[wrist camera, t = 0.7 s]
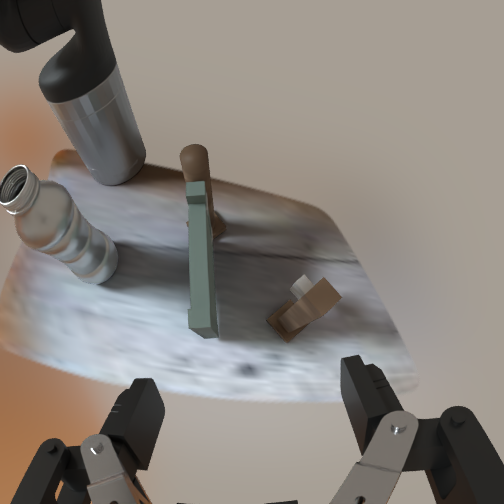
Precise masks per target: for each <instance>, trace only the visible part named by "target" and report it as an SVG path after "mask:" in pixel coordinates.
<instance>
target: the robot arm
mask: <svg viewBox="0 0 504 504" xmlns="http://www.w3.org/2000/svg"><path fill="white" fill-rule="evenodd" d="M71 29H74V30H75V32H76V33H75V35H74V36H73V37H72V39H71V40H70V41H69V42H68V43H67V44H66V45H65V46H64V47H63V48H62V49H61V50H60V51H58V52H57V53H56V54H55V55H54V56H53V57H52V58H51V59H50V60H49V61H48V62H47V63H46V65H45V66H44V68H43V69H42V71H41V73H40V76H39V86H40V89H41V91H42V93H43V95H44V96H45V98H46V100H47V102H48V104H49V105H50V107H51V109H52V111H53V112H54V114H55V116H56V117H57V119H58V121H59V123H60V124H61V126H62V128H63V129H64V131H65V133H66V134H67V136H68V138H69V139H70V141H71V143H72V144H73V146H74V148H75V149H76V151H77V152H78V154H79V156H80V157H81V159H82V160H83V162H84V164H85V165H86V167H87V168H88V170H89V171H90V173H91V174H92V176H93V177H94V179H95V180H96V181H97V182H99V183H101V184H103V185H117V184H120V183H123V182H125V181H127V180H129V179H131V178H132V177H133V176H134V175H136V174H137V172H138V171H139V170H140V169H141V167H142V166H143V164H144V161H145V158H146V150H145V147H144V144H143V141H142V138H141V135H140V132H139V129H138V127H137V124H136V121H135V118H134V115H133V112H132V109H131V106H130V103H129V99H128V96H127V93H126V90H125V87H124V84H123V81H122V78H121V75H120V71H119V68H118V65H117V62H116V58H115V55H114V52H113V48H112V46H111V42H110V39H109V35H108V31H107V28H106V24H105V19H104V15H103V9H102V4H101V0H0V45H2V46H3V47H4V48H6V49H7V50H9V51H11V52H14V53H20V52H24V51H27V50H29V49H32V48H34V47H36V46H38V45H40V44H41V43H44V42H46V41H48V40H50V39H52V38H54V37H56V36H58V35H60V34H62V33H65V32H67V31H69V30H71ZM341 394H342V398H343V401H344V404H345V407H346V410H347V413H348V416H349V419H350V422H351V425H352V428H353V431H354V433H355V437H356V439H357V443H358V446H359V449H360V452H361V455H362V456H363V457H362V458H361V460H360V461H359V462H356V463H355V465H354V466H353V468H352V470H351V471H350V472H349V474H348V476H347V478H346V479H345V481H344V482H343V484H342V485H341V487H340V489H339V490H338V492H337V493H336V495H335V496H334V498H333V499H332V501H331V502H330V503H329V504H387V502H388V500H389V498H390V496H391V494H392V492H393V490H394V488H395V485H396V484H397V481H398V479H399V477H400V475H401V472H404V471H405V472H406V471H420V470H425V473H426V475H427V478H428V481H429V484H430V486H431V489H432V492H433V494H434V497H435V501H436V503H437V504H504V464H503V462H502V461H501V459H500V457H499V455H498V453H497V452H496V450H495V448H494V447H493V445H492V443H491V441H490V440H489V438H488V436H487V435H486V433H485V431H484V430H483V428H482V426H481V425H480V423H479V422H478V420H477V418H476V417H475V415H474V414H473V412H472V411H470V409H468V408H466V407H463V406H454V407H450V408H448V409H447V410H445V411H444V412H443V413H442V415H441V417H440V418H433V419H417V418H416V417H415V416H414V415H413V414H411V413H409V412H406V411H404V409H403V408H402V406H401V404H400V403H399V400H398V399H397V397H396V395H395V393H394V391H393V389H392V388H391V386H390V384H389V382H388V381H387V380H386V377H385V375H384V373H383V372H382V370H381V369H380V368H378V367H377V366H375V365H374V364H369V365H364V363H363V361H362V359H361V357H360V356H359V355H355V356H350V357H345V358H341ZM164 415H165V407H164V403H163V401H162V398H161V396H160V394H159V391H158V389H157V387H156V384H155V382H154V380H153V379H152V378H136V379H134V381H133V383H132V385H131V387H130V389H126V390H125V391H123V392H122V393H121V394H120V395H119V396H118V398H117V400H116V402H115V404H114V406H113V407H112V409H111V412H110V413H109V415H108V417H107V419H106V421H105V423H104V425H103V427H102V429H101V431H100V433H99V434H96V435H92V436H89V437H88V438H86V439H85V440H84V441H83V443H82V444H81V446H70V447H66V446H65V444H64V443H63V442H62V441H61V440H60V439H57V438H52V439H48V440H46V441H45V442H43V443H42V444H41V445H40V447H39V449H38V451H37V453H36V455H35V456H34V458H33V460H32V462H31V464H30V466H29V467H28V469H27V471H26V473H25V475H24V477H23V479H22V481H21V483H20V485H19V487H18V489H17V491H16V493H15V495H14V497H13V499H12V502H11V504H90V503H91V501H92V504H152V502H151V501H150V499H149V497H148V495H147V494H146V492H145V490H144V488H143V487H142V485H141V483H140V481H139V479H138V477H137V476H136V472H137V469H138V470H147V469H148V466H149V463H150V460H151V456H152V453H153V450H154V447H155V443H156V440H157V437H158V434H159V431H160V428H161V425H162V422H163V419H164ZM60 480H61V481H62V482H63V483H64V484H63V486H62V489H61V491H60V494H59V496H58V499H57V501H56V499H55V492H56V490H57V488H58V485H59V483H60ZM177 504H184V503H177ZM267 504H298V501H297V500H294V501H286V502H276V503H267Z"/></svg>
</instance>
